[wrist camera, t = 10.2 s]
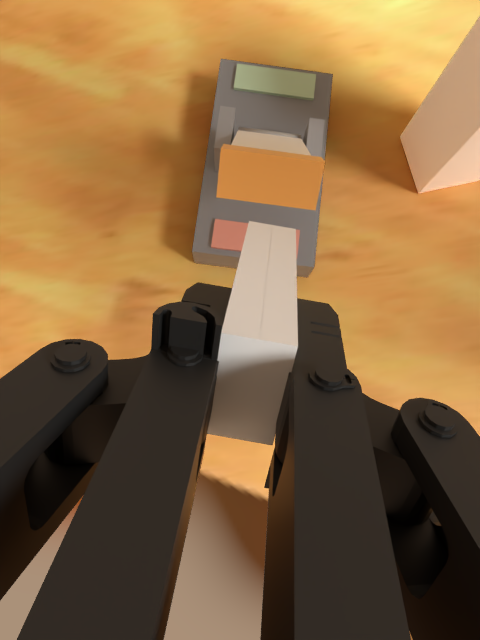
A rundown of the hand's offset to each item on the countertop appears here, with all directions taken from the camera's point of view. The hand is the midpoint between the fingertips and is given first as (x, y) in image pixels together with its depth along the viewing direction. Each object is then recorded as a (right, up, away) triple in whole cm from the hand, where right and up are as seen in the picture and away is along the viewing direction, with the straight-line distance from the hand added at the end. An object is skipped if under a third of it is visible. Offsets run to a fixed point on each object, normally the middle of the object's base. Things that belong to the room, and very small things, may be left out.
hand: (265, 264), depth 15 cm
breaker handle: (+2, +13, +23) cm, 26 cm away
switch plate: (+1, +11, +26) cm, 29 cm away
